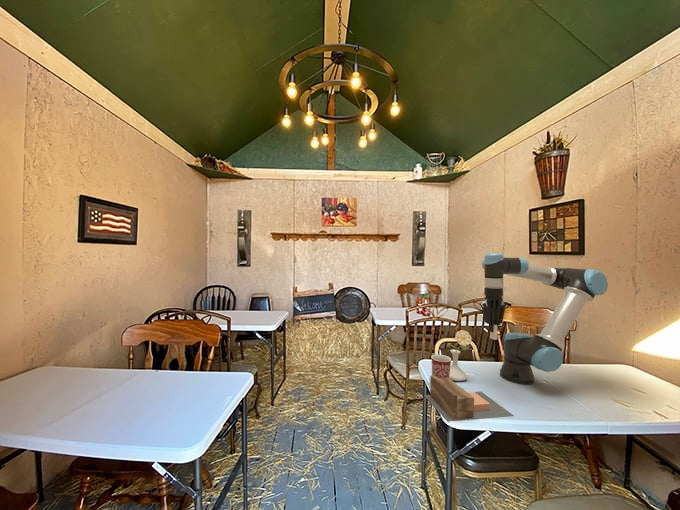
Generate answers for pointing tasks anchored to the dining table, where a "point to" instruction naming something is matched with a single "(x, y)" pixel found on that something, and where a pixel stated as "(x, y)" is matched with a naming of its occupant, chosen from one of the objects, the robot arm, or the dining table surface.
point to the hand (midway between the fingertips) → (493, 338)
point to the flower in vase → (463, 340)
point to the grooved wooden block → (451, 398)
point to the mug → (441, 366)
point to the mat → (492, 413)
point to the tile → (479, 402)
